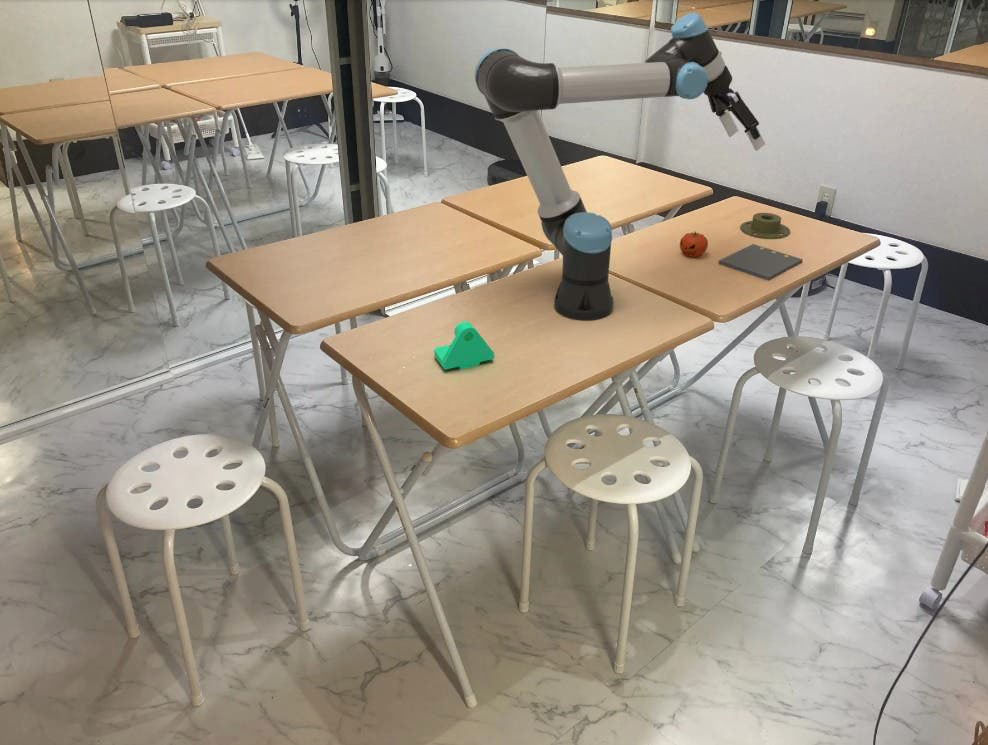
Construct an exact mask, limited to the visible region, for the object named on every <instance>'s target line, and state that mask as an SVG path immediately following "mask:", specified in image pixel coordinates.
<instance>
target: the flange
mask: <svg viewBox="0 0 988 745" xmlns="http://www.w3.org/2000/svg"><path fill="white" fill-rule="evenodd" d="M781 222H782V217H781V216H780V215H778V214H775V213H771V212H770V213H769V212H757V213H755V214H753V216H752V219H751V220H748V221H745V222H743V223H741V225H740V226H739V230H740V231H741V232H742V233H744V234H745V235H747V236H749V237H753V238H756V239H762V240H763V239H764V240H778V239H779V240H780V239H784V238H786V237H789V235H790V234H791V229H790V228H789V227H788V226H786V225H784V224H782V223H781Z"/></svg>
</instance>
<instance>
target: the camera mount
mask: <svg viewBox="0 0 988 745" xmlns="http://www.w3.org/2000/svg"><path fill="white" fill-rule="evenodd" d="M433 351H434V357H435V359H436V360H437V362H438V363H439V364H440V365H441V367H442V368H443V369H444V371H445V370H449V369H454V368H458V369H459V370H460V371H461V370H465V369H469V368H475V367H479V366H480V363H481V362H486V361H490V360H495V352H494V351H493V349H492V348H491V347H490V345H488V343H487V342H486V340H485V339H484V338H483V336H481V334H480V333H479V332H478V330H477V329H476V327H474V326H473V324H472V323H470V322H469V321H461V322H459V323H458V324H456V326H455V328H454V337H453V339H452V342H451V343H450V344H448V345H447V344H446V345H442V346H438V347H435V348H434V350H433Z"/></svg>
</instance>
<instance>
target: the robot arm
mask: <svg viewBox="0 0 988 745" xmlns="http://www.w3.org/2000/svg"><path fill="white" fill-rule="evenodd" d="M670 33H671V39H670V40H668V41H667V43H665V44H664V45H663V46H662V47H660V48H659V49H658V50H657V51H655V52H654V53H653V54H652V55H650V57H649V56H648V58H647V59H644V61H643V62H640V63H639V62H638V63H635V62H634V63H621V64H620V63H619V64H617V63H616V64H604V65H603V64H602V65H600V64H599V65H586V66H583V65H582V66H567V67H564V66H563V67H558V66H557V65H556V63H554V62H548V63H546V62H545V63H544V62H543V63H542V62H536V61H531V60H527V59H525V58H524V57H522V56H520V55H519V54H518V53H517V52H516V51H514V50H512V49H510V48H507V47H506V48H503V47H496V48H493V49H490V50H488V51H486V52H485V53H484V54H482V55H481V57H480V58H479V59H478V62H477V64H476V66H475V69H474V79H475V80H474V81H475V84H476V87H477V89H478V91H479V92H480V93H481V94H482V95H483V96H484V98H485V100H486V102H487V104H488V107H489V109H490V112H491V113H492V115H493V118H494V119H495V121H500V122H502V123H503V125H504V127H505V129H506V131H507V134H508V136H509V138H510V140H511V143H512V146H513V147H514V149H515V151H516V153H517V156H518V158H519V160H520V162H521V163H520V164H521V165H522V167H523V169H524V171H525V173H526V176H527V178H528V180H529V183H530V185H531V187H532V189H533V191H534V193H535V196H536V198H537V201H538V203H539V205H538V208H537V215H538V216H539V220H540V221H541V223H540V224H541V229H542V231H543V235H544V236H545V237H546V239H547V240H548V241H549V242H550V243H551V244H552V245H553V246H554V247H555V249H556V250H558V252H559V253H560V254H561V256H562V269H561V270H562V274H561V279H560V283H559V285H558V288H557V291H556V293H555V294H554V304H553V308H554V310H555V311H556V312H557V314H560V315H561V316H563V317H566V318H568V319H573V320H579V321H593V320H600V319H603V318H605V317H607V316H609V315H610V314H612V312H613V311H614V303H615V302H614V301H615V300H614V296H613V295H612V292H611V288H610V287H611V286H610V283H609V282H610V281H609V274H610V272H609V271H610V265H611V264H610V261H611V249H612V241H613V234H612V225H611V223H610V221H609V220H608V219H606V217H604V216H602V215H601V214H598V215H597V214H596V213H594V212H588V211H587V210H586V207H585V205H584V202H583V200H582V197H581V195H580V193H579V192H578V191H575V190H573V189H572V188H571V187H570V184H569V182H568V179H567V177H566V175H565V172H564V169H563V167H562V165H561V163H560V160H559V158H558V155H557V153H556V151H555V148H554V146H553V143H552V141H551V139H550V137H549V134H548V132H547V129H546V127H545V124H544V122H543V119H542V117H541V114H540V112H539V111H546V110H547V111H548V110H550V111H551V110H556V109H557V108H558V107H559V105H565V104H577V103H578V104H579V103H580V104H581V103H592V102H594V103H595V102H607V101H621V100H622V101H624V100H637V99H651V98H653V99H654V98H664V97H665V98H670V97H671V98H672V97H680V98H682V99H685V100H695V99H697V98H699V97H700V96H702V95H703V94H704V95H705V96H707V98H708V103H709V106H710V109H711V112H712V113H713V114H715V116H717V117H718V118H719V120H720V122H721V124H722V126H723V128H724V130H725V132H726V133H727V135H728V137H729V138H732V136H733V137H734V135H735V134H736V133H737V132H739V129H738V127H737V125H736V123H735V121H734V118H733V117H732V115H731V113H732V114H733V116H735V118H736V119H737V120H738V121H739V123H740V124H741V125H742V126H743V128H744V133H745V134H746V135H747V137H748V139H749V142H751V145H752V146H753V149H754V150H755V151H756V152H758V151H759V150H760V149H762V147H764V146H765V145H766V142H765V140H764V138H763V136H762V134H761V133H760V130H759V128H758V126H759V125H760V122H759V120H758V119H757V118H756V117H755V115H754V114H753V112H752V111H751V110H750V108H749V107H748V106H747V104H746V102H744V100H743V98H742V97H741V94H740V93H739V92H738V91H734V90H733V89H732V88H730V85H731V84H732V81H733V75H732V74H731V72H730V69H729V68H728V66H727V65H726V62H725V60H724V59H723V56H722V55H723V52H722V51H721V50H720V51H719V49H718V47H717V45H716V43H715V41H714V39H713V37H712V35H711V32H710V30H709V27H708V26H707V24H706V22H705V21H704V19H703V18H702V16H701V15H700V14H699V13H696V12H689V13H687V14H685V15H683V16H681V17H680V18H678V19H677V20H676V21H675V22H674V24H672V26H671V28H670ZM730 112H731V113H730Z"/></svg>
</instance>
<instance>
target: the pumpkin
mask: <svg viewBox="0 0 988 745" xmlns="http://www.w3.org/2000/svg"><path fill="white" fill-rule="evenodd" d="M708 246H709V241H708V238H706V236H705V235H704V234H703V233H702V234H701V233H699V232H697V231H694V232H690V233H685V234H684V236H683V237H681V238H680V241H679V249H680V250H681V252H682V254H683V255H685V256H688V257H690V258H691V257H693V258H697V257H701V256H703V254H705V252H706V251H707V249H708Z"/></svg>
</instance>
